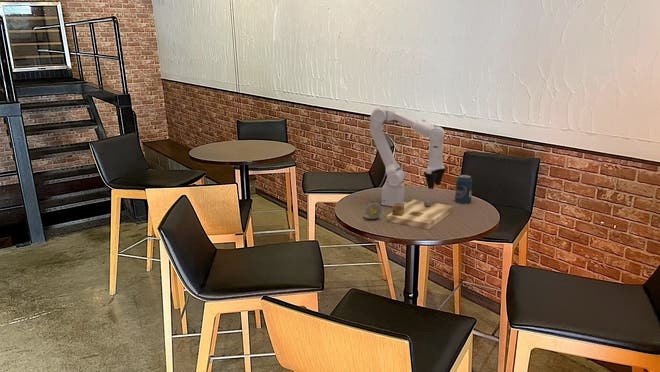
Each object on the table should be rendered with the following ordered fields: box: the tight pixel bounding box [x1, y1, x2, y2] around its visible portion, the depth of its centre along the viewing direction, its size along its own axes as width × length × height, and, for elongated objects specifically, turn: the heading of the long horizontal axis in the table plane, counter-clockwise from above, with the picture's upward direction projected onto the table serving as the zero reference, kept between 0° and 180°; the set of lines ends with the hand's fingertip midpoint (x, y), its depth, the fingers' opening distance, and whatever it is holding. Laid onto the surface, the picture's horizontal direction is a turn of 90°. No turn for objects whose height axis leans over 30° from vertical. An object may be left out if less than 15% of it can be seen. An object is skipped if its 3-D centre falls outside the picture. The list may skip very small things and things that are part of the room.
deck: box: [386, 198, 454, 231], centre depth 209 cm, size 18×26×2 cm
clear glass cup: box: [363, 196, 383, 220], centre depth 206 cm, size 8×8×10 cm
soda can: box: [454, 174, 473, 205], centre depth 226 cm, size 7×7×12 cm
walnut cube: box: [391, 203, 404, 216], centre depth 204 cm, size 4×4×4 cm
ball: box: [423, 197, 433, 206], centre depth 213 cm, size 4×4×4 cm
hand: (434, 186), depth 216 cm, fingers open, 7 cm apart
